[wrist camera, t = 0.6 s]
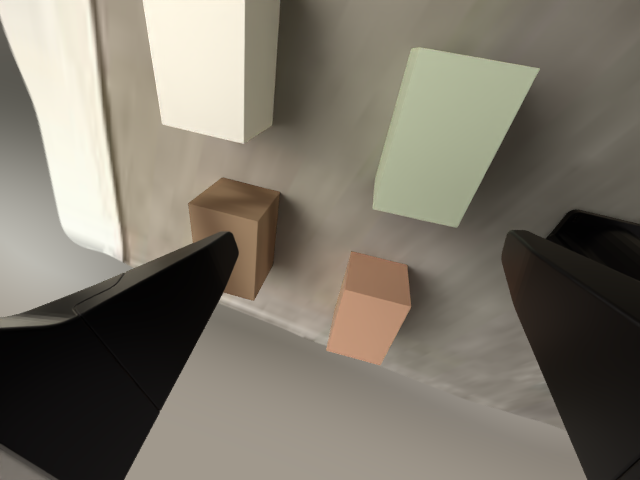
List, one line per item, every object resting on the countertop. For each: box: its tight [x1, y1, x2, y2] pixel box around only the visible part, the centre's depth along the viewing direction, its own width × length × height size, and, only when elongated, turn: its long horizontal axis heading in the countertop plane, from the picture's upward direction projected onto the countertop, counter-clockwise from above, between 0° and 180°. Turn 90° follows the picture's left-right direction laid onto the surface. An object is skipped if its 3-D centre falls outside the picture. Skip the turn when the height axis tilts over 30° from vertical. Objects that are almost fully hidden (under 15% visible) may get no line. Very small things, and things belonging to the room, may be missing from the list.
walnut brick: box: [188, 178, 280, 301], centre depth 23 cm, size 5×8×5 cm, turn 169°
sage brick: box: [373, 47, 540, 228], centre depth 16 cm, size 5×8×5 cm, turn 171°
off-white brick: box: [143, 0, 280, 144], centre depth 16 cm, size 5×8×5 cm, turn 170°
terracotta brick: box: [326, 251, 411, 365], centre depth 25 cm, size 5×8×5 cm, turn 170°
